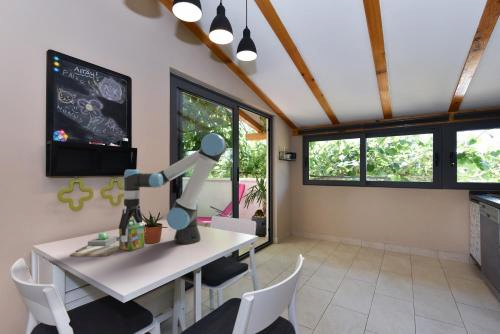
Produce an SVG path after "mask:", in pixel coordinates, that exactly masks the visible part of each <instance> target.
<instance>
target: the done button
mask: <svg viewBox="0 0 500 334" xmlns="http://www.w3.org/2000/svg"><path fill="white" fill-rule="evenodd" d="M107 234H108V233H107V232H100V233H98V235H97V237H98V240H106V239H107Z"/></svg>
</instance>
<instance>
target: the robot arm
mask: <svg viewBox="0 0 500 334" xmlns="http://www.w3.org/2000/svg"><path fill="white" fill-rule="evenodd" d="M227 147H228V145H227V141H226V140H225V139H224V138H223V137H222V135H220V134H218V133H214V132H213V133H208V134H205V135H204V136H203V138H202V140H201V143H200V148H199V149H198V150H196V151H195V152H192V153H190V154H189V155H187V156H186V157H184V158H182V159H180V160H178V161H176V162H175V163H173V164H171V165H169V166H168V167H166V168H164V169H162V170H161V171H159V172H155V173H154V172H153V173H152V172H151V173H148V172H147V173H143V172H141V171H140V169H125V171H124V175H123V181H124V182H123V183H124V185H123V187H124V189H123V206H124V207H125V208H123V209H122V214H121V218H120V221H119V225H118V230H119V229H122V238H121V242H127V238H128V229H126V228H127V226H128V223H129V221H130V220H131V218H132V217H133V219H134V220H135V221H136V222H137V223H135V225H140V223H142V221H144V220H143V215H142V211H141V206H140V188H155V189H156V188H161V187H162V186H165V185H166V184H168V183H169V182H170V181H173V180H174V179H176V178H178V177H179V176H181V175H183V174H185V173H187V172H189V171H191V170H192V169H193V170H192V173H191V174H190V176H189V179H188V181H187V183H186V185H185V187H184V190H183V192H182V194H181V195H180V198H177V199H176V200H175V202H174V204H173V206H172V208H171V209H170V210H169V211H168V212H167V214H166V222H167V224H168V226H169V227H170V228H172V229H174V230H175V234H174V237H173V241H174V242H173V243H175V244H178V245H190V244H195V243H198V242H200V241H201V233H200V231H199V227H198V208H199V206H198V203H197V202H198V200H199V198H200V195H201V193H202V191H203V190H204V189H203V188H204V186H205V185H206V183H207V181H208V179H209V177H210V174H211V172H212V170H213V167H214V166H215V164H218V163H219V161H220V160H221V157H222V156H223V155H224V154H225V153H226V151H227Z"/></svg>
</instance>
